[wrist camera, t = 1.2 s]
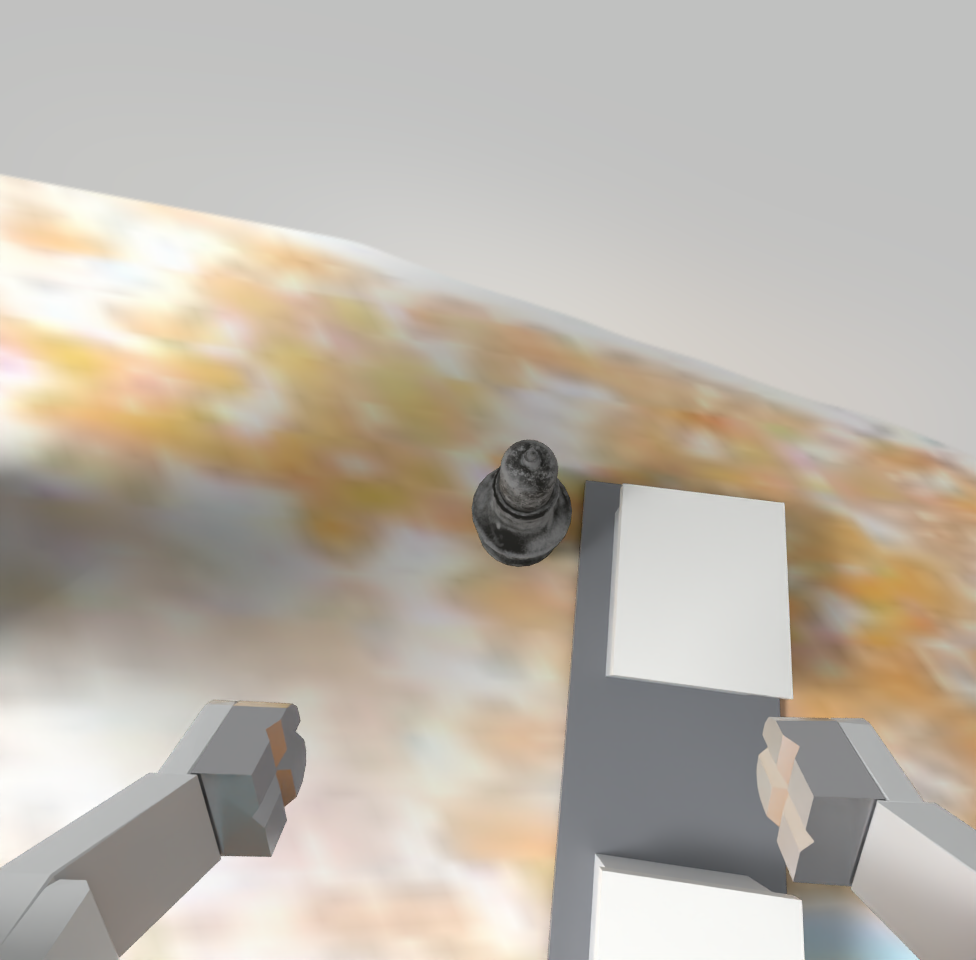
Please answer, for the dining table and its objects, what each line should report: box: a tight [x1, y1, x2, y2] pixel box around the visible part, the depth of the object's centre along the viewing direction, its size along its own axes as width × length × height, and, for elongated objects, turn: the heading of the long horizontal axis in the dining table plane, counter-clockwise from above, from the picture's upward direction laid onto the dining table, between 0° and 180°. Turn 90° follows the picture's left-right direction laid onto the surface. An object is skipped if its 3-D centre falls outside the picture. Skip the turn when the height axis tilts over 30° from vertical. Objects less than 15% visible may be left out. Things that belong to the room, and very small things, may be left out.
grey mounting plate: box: [547, 480, 805, 960], centre depth 31 cm, size 12×33×5 cm, turn 173°
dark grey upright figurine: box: [472, 440, 572, 567], centre depth 33 cm, size 6×6×12 cm
